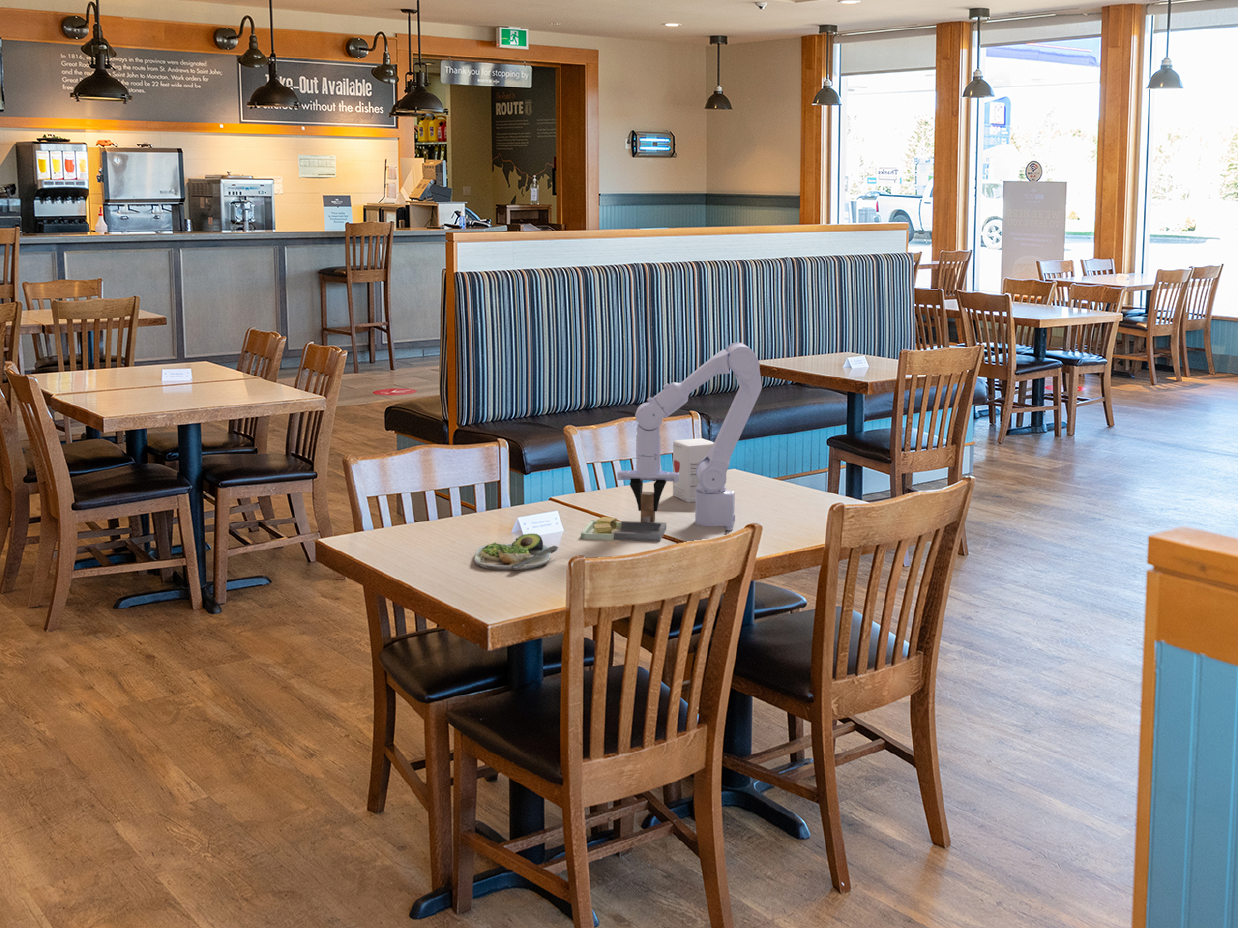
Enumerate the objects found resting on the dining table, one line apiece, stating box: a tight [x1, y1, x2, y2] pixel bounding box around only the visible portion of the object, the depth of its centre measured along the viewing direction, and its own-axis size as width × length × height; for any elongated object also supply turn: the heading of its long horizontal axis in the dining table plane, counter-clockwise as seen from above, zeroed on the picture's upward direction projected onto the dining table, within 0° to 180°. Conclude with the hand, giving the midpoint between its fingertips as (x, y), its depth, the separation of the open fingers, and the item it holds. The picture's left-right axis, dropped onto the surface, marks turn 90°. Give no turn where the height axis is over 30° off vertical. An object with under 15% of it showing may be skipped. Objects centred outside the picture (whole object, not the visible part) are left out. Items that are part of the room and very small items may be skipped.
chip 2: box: [593, 523, 613, 534], centre depth 281 cm, size 4×4×2 cm
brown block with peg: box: [640, 491, 656, 522], centre depth 291 cm, size 3×8×7 cm, turn 170°
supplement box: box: [672, 437, 715, 503], centre depth 321 cm, size 9×9×15 cm
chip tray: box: [580, 520, 622, 541], centre depth 284 cm, size 8×12×2 cm, turn 170°
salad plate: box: [473, 533, 559, 571], centre depth 264 cm, size 19×18×5 cm
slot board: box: [613, 520, 667, 542], centre depth 282 cm, size 10×11×2 cm
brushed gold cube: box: [596, 516, 617, 532], centre depth 286 cm, size 4×4×2 cm
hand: (648, 510), depth 292 cm, fingers closed on brown block with peg, 3 cm apart
